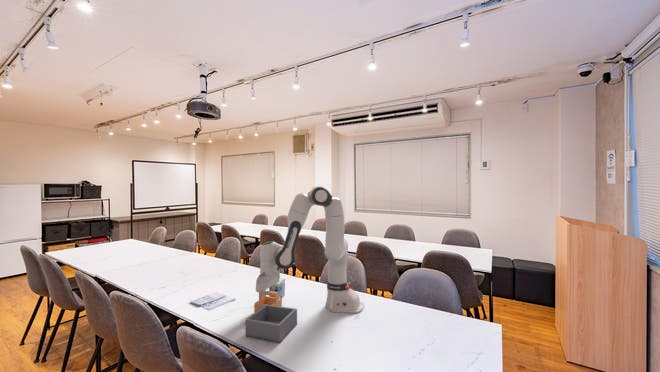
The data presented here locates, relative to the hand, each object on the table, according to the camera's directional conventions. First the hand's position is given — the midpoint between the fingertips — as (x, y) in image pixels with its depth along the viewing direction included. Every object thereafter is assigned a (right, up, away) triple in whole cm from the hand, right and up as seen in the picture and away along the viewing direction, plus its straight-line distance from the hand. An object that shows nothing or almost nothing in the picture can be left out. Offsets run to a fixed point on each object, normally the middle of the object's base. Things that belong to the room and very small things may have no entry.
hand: (268, 294), depth 156 cm
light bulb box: (+1, -10, +20) cm, 22 cm away
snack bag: (-37, -11, +14) cm, 41 cm away
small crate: (0, -9, 0) cm, 9 cm away
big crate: (+7, -9, -21) cm, 24 cm away
